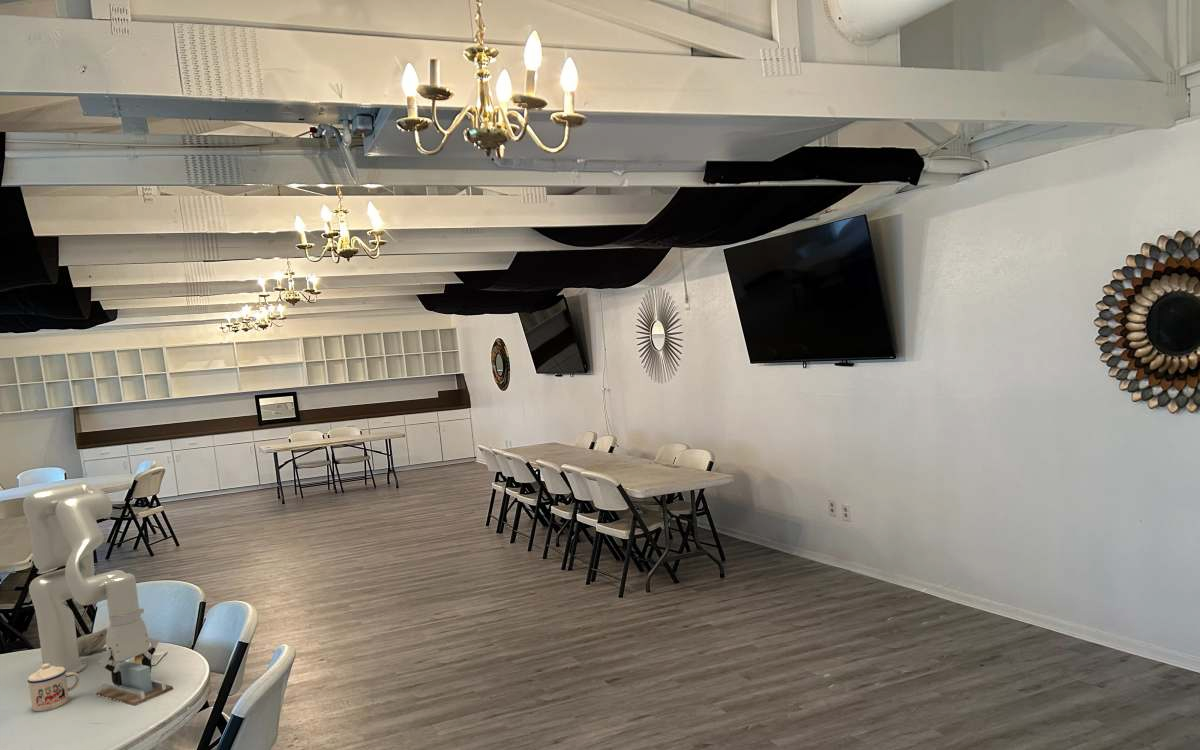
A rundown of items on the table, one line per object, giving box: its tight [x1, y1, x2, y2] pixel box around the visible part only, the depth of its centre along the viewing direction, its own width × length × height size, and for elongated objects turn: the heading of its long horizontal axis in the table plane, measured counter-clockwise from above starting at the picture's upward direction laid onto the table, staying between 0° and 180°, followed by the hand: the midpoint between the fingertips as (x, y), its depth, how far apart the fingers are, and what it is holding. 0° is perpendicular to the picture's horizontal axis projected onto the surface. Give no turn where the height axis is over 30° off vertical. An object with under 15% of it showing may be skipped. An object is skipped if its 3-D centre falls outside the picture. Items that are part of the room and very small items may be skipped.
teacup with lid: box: [27, 663, 80, 712], centre depth 234 cm, size 12×9×12 cm
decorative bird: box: [77, 628, 107, 656], centre depth 275 cm, size 5×16×8 cm, turn 118°
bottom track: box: [95, 678, 174, 706], centre depth 237 cm, size 20×11×3 cm, turn 58°
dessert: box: [125, 650, 168, 666], centre depth 262 cm, size 12×12×5 cm
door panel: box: [118, 661, 153, 694], centre depth 237 cm, size 14×3×7 cm, turn 58°
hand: (132, 678), depth 237 cm, fingers open, 7 cm apart
